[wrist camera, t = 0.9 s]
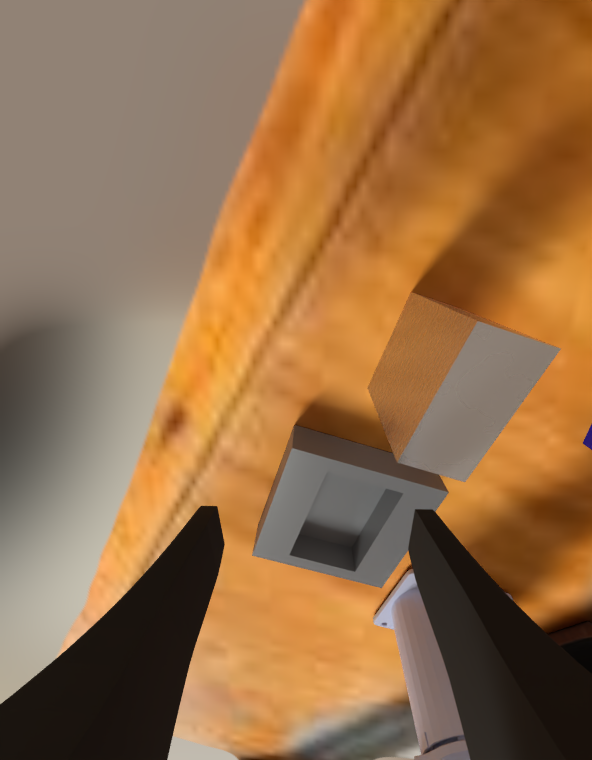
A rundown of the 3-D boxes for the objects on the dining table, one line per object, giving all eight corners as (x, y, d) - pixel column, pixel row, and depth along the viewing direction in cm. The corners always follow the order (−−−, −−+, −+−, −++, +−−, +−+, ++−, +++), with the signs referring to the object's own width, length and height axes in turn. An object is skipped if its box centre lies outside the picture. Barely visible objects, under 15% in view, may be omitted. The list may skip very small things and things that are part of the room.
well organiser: (433, 464, 20) (448, 492, 18) (375, 556, 24) (381, 588, 22) (294, 424, 20) (292, 448, 17) (258, 525, 24) (252, 555, 21)
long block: (462, 308, 16) (560, 348, 10) (412, 401, 18) (464, 482, 12) (410, 291, 16) (477, 320, 9) (367, 387, 18) (397, 462, 12)
